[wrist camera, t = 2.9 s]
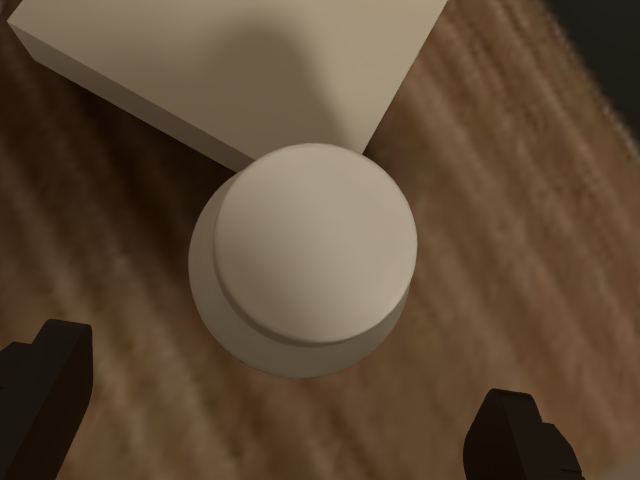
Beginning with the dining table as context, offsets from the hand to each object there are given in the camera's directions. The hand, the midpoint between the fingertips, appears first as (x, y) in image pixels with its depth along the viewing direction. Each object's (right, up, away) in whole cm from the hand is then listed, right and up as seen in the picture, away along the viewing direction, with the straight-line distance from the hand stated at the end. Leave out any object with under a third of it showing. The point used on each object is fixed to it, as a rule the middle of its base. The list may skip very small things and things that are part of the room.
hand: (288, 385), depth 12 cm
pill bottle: (-1, +1, +9) cm, 9 cm away
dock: (-2, +11, +11) cm, 15 cm away
